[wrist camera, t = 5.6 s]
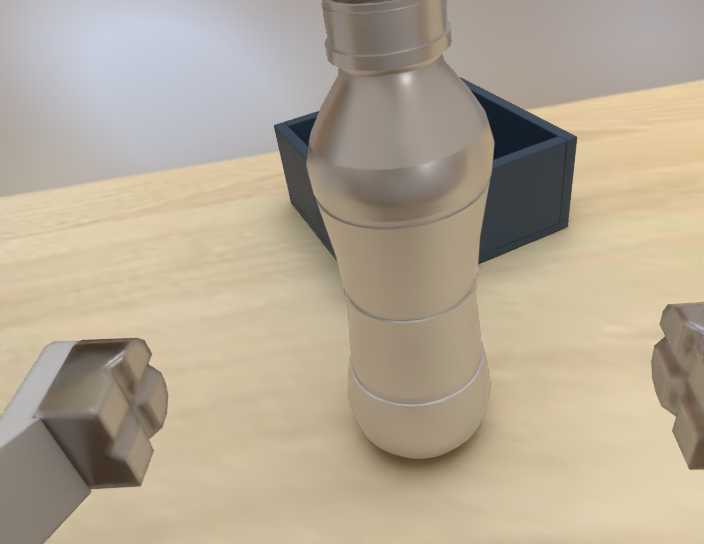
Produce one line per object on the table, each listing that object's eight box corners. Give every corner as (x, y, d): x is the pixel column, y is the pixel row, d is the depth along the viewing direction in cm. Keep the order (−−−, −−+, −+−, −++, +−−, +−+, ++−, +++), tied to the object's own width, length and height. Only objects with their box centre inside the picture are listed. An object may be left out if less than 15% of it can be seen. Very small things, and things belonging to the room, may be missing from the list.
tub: (373, 307, 37) (360, 216, 33) (290, 202, 48) (273, 124, 44) (568, 226, 41) (577, 136, 37) (450, 146, 52) (447, 70, 48)
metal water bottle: (329, 419, 31) (228, 4, 19) (426, 350, 34) (395, -50, 21) (416, 506, 26) (360, 41, 14) (520, 418, 29) (547, -33, 17)
